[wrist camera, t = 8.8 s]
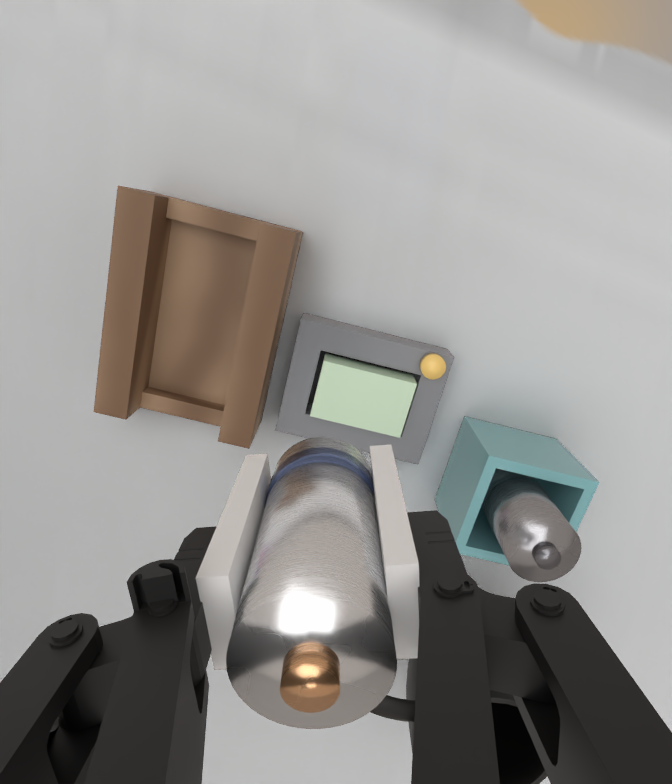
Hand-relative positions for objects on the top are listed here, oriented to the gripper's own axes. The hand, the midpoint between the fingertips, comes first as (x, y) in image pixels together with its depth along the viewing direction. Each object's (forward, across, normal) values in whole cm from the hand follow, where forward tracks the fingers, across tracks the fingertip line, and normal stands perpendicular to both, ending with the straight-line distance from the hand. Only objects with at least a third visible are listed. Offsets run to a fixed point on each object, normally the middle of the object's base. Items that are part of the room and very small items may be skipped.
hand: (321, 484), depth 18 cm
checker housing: (+14, +2, -1) cm, 14 cm away
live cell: (0, 0, 0) cm, 0 cm away
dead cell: (+13, +10, -7) cm, 18 cm away
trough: (+14, -7, +4) cm, 16 cm away
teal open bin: (+14, +10, -7) cm, 19 cm away
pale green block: (+13, +2, -1) cm, 13 cm away
